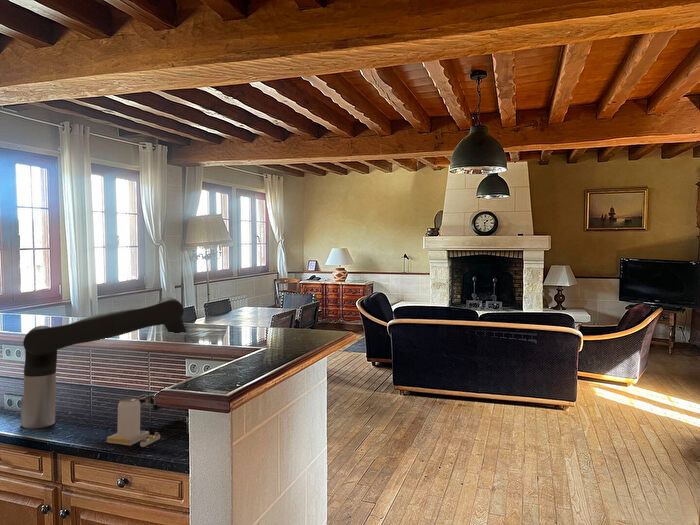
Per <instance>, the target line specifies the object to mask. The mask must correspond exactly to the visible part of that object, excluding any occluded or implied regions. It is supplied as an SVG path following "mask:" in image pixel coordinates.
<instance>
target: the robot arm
mask: <svg viewBox="0 0 700 525" xmlns="http://www.w3.org/2000/svg"><path fill="white" fill-rule="evenodd" d="M184 312H185V310H184V306H183V304H182V303H181V302H180V301H179V300H177V299H176V298H173V297H164V298H163V297H162V299H160V300H159V301H158V302H157V303H155V304H152V305H148V306H145V307H138V308H123V309H116V310H111V311H110V310H109V311H104V312H100V313H97V314H93V315H89V316H88V317H85V318H82V319H79V320H77V321H73V322H72V323H71V322H70V323H67V324H62V325H57V326H56V325H55V326H48V325H38V326H35V327H33V328H32V329H30V330H29V331H28V332H27V333H26V335H25V336H24V338H23V340H22V342H23V348H24V350H25V360H24V361H25V362H24V365H23V367H24V368H23V396H22V397H21V398H20V426H21V427H22V428H23V429H30V430H31V429H35V430H36V429H41V428H47V427H51V426H53V425H54V424H55V423H56V393H57V391H56V390H57V387H56V384H57V364H58V350H61V349H64V348H67V347H70V346H73V345H78V344H84V343H85V344H86V343H90V342H96V341H97V342H98V341H101V340H100V339H102V340H106V339H105V338H107V339H111V338H114V337H118V336H121V335H125V334H129V333H132V332H135V331H138V330H141V329H145V328H149V327H154V326H162V325H164V327H165V329H166V330H167V332H174V333H180V332H186V331H187V328H186V326H185V324H184V321H183V315H184ZM166 386H167V385H166ZM163 387H164V386H163ZM167 387H168V386H167ZM161 388H162V387H161ZM164 388H165V387H164ZM159 389H160V388H159ZM159 389H158V390H159ZM162 389H163V388H162ZM160 390H161V389H160ZM160 390H159V391H160ZM148 394H149V393H147V392H146V393H144V394H141V395H138V396H136V397H138V398H139V401H140V407H143V406H145V407H150V406H152V411H153V412H154V411H155V412H156V411H158V410H160V409H165V408H162V407H159V406H157V405H155V404H154V401H153V397H154V395H155V393H153V394H149V395H148Z"/></svg>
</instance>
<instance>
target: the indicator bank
mask: <svg viewBox="0 0 700 525" xmlns="http://www.w3.org/2000/svg"><path fill="white" fill-rule="evenodd" d="M160 439H161V434H160V432H158V431H156V432H154V435H153V434H149V437H147V438H143V439H142V440H141V441H139V446H140V447H143V448H144V447H147V446H148V445H151V444H152V443H154V442H156V441H158V440H160Z"/></svg>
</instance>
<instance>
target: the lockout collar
mask: <svg viewBox="0 0 700 525" xmlns="http://www.w3.org/2000/svg"><path fill="white" fill-rule="evenodd" d="M149 435H150V431H148V430H141V429H140V435H139V436H137V437H135V438H133V439H131V440H128V439H120V438H118V437H117V432H116V433H114V434H112V435H110V436H107V437H106V443H108V444H116V445H117V444H118V445H124V446H133V445H134V444H136V443H140V442H142V439H143V438H147V439H148V438H149Z"/></svg>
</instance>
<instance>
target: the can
mask: <svg viewBox="0 0 700 525" xmlns="http://www.w3.org/2000/svg"><path fill="white" fill-rule="evenodd" d="M140 430H141V406H140V401H139V398H138V397H137V396H127V397H122V398H120V399H119V401H118V404H117V432H116V433H117V437H118V438H120V439H128V440H131V439H133V438H135V437H137V436H139V435H140Z"/></svg>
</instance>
